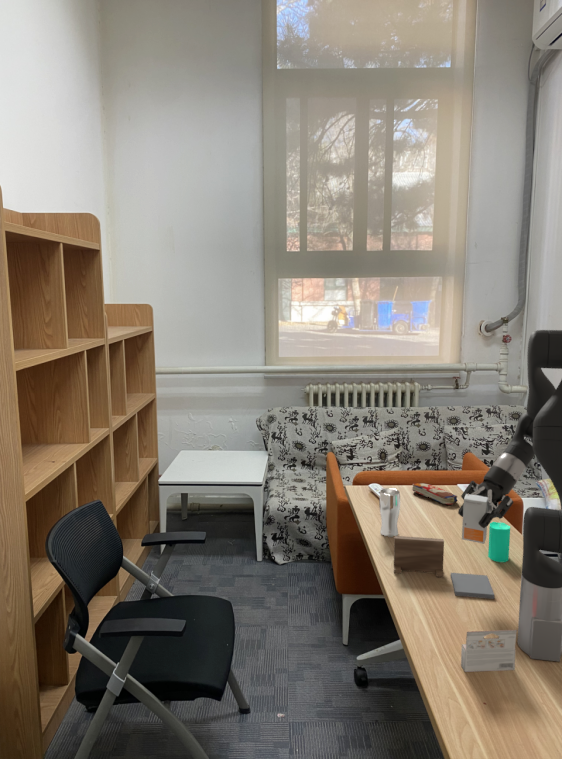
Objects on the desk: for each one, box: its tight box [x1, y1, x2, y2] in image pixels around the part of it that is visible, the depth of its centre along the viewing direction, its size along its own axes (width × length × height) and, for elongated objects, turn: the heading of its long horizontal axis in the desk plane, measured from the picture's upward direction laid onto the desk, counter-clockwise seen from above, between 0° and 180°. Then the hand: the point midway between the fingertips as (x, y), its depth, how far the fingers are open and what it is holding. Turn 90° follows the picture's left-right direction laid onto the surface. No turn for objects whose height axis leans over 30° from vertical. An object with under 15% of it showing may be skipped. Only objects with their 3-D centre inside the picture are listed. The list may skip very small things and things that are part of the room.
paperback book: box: [411, 482, 458, 506], centre depth 210 cm, size 11×20×5 cm, turn 20°
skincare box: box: [461, 494, 488, 545], centre depth 143 cm, size 6×4×12 cm
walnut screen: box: [393, 535, 445, 578], centre depth 154 cm, size 6×14×10 cm, turn 79°
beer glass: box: [378, 487, 401, 538], centre depth 179 cm, size 7×7×15 cm
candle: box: [487, 521, 511, 563], centre depth 161 cm, size 6×6×12 cm
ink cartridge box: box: [460, 629, 518, 673], centre depth 113 cm, size 2×11×10 cm, turn 92°
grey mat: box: [450, 572, 495, 600], centre depth 146 cm, size 10×10×1 cm
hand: (470, 520), depth 142 cm, fingers closed on skincare box, 7 cm apart
